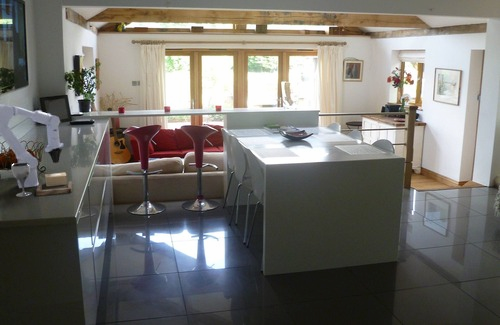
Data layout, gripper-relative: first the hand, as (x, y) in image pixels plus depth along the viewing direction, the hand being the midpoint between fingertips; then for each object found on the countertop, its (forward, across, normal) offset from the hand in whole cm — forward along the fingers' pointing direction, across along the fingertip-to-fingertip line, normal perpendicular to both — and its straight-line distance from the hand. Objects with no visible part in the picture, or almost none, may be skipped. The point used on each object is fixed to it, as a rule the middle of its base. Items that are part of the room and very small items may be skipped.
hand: (55, 162), depth 264 cm
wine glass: (+10, +28, -1) cm, 30 cm away
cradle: (+9, +18, +10) cm, 23 cm away
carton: (+10, +8, +4) cm, 13 cm away
